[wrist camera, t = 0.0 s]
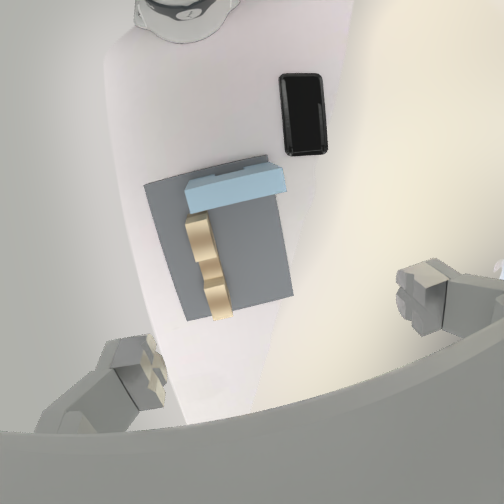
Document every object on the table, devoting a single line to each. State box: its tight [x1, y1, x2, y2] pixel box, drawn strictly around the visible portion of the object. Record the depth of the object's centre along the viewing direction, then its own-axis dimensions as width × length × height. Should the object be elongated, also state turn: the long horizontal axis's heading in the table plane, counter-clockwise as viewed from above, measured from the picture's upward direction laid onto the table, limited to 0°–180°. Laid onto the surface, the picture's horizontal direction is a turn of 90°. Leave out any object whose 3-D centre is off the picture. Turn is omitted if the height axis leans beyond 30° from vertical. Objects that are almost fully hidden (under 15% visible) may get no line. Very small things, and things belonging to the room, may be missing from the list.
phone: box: [279, 73, 328, 156], centre depth 53 cm, size 8×1×15 cm
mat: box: [144, 155, 293, 321], centre depth 59 cm, size 28×22×1 cm
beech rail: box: [185, 210, 233, 321], centre depth 56 cm, size 18×4×7 cm, turn 12°
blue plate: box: [184, 162, 287, 214], centre depth 50 cm, size 4×14×11 cm, turn 102°
